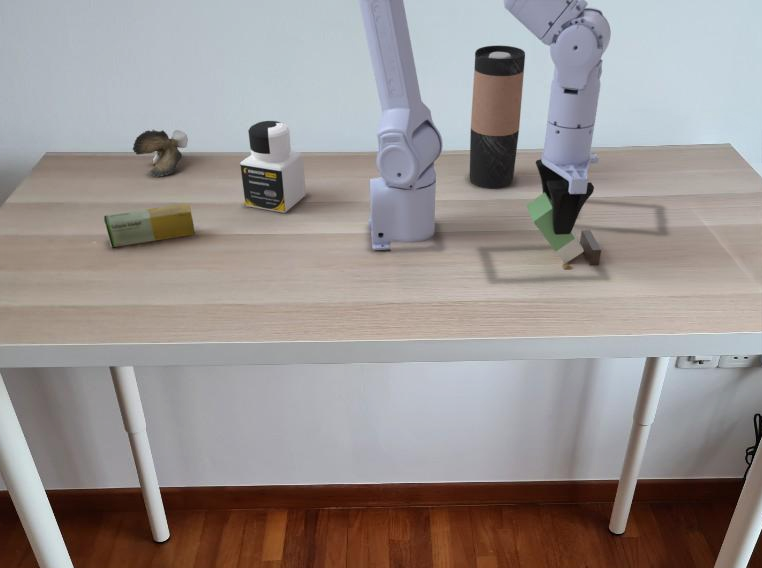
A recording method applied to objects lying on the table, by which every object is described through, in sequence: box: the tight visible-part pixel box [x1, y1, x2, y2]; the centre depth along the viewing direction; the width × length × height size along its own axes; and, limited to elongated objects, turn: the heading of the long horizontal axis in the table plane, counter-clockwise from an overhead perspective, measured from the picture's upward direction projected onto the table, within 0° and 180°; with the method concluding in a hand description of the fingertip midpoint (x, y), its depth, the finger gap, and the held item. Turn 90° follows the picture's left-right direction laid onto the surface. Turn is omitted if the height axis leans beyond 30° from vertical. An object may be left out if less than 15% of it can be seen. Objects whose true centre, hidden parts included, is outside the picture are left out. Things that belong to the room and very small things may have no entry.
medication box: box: [103, 203, 197, 249], centre depth 115 cm, size 12×3×4 cm, turn 108°
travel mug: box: [469, 45, 526, 189], centre depth 127 cm, size 8×8×20 cm
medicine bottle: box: [239, 120, 307, 214], centre depth 123 cm, size 7×7×12 cm
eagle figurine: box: [132, 129, 189, 178], centre depth 136 cm, size 8×7×9 cm
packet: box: [525, 192, 584, 264], centre depth 107 cm, size 8×5×3 cm
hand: (557, 223), depth 107 cm, fingers closed on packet, 5 cm apart
